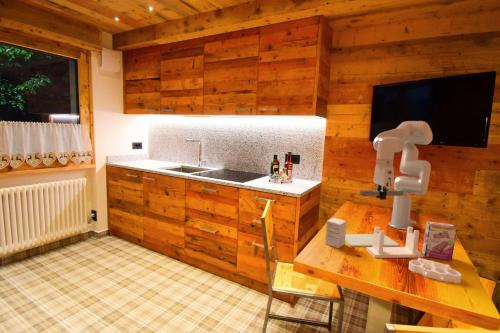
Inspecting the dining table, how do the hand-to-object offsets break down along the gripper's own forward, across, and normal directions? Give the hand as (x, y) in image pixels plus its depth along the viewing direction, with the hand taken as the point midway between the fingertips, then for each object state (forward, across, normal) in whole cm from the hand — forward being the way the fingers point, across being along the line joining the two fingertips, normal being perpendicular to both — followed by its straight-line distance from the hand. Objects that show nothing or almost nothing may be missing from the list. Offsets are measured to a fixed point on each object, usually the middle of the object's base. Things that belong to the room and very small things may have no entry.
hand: (380, 198), depth 137 cm
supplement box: (+25, +1, +22) cm, 33 cm away
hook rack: (+25, -10, -3) cm, 27 cm away
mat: (+25, +5, +2) cm, 25 cm away
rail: (-2, 0, 0) cm, 2 cm away
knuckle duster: (+25, -28, -9) cm, 39 cm away
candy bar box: (+25, -15, -22) cm, 36 cm away
